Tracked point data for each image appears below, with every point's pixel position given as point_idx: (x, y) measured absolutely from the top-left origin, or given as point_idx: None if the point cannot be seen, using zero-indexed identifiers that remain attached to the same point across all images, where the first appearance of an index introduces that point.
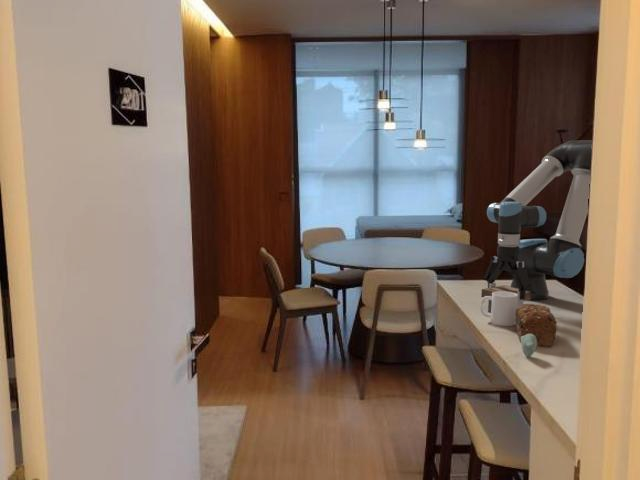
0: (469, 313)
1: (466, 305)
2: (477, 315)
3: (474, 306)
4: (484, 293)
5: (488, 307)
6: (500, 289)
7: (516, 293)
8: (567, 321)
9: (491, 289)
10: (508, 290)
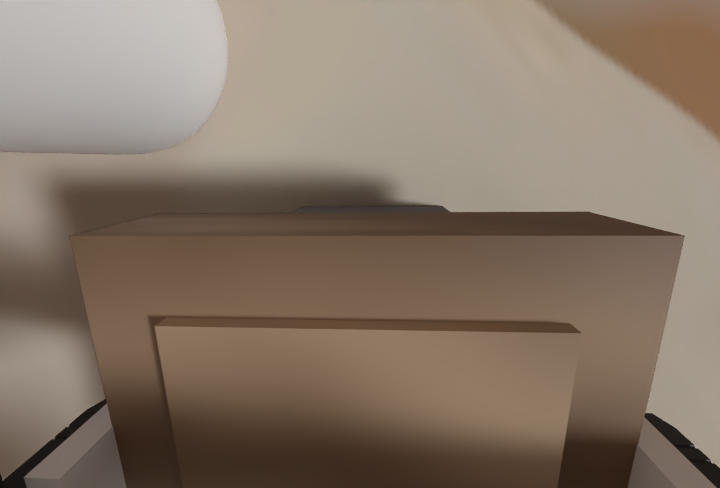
0: (514, 17)
1: (714, 217)
2: (422, 34)
3: None
4: (568, 222)
5: (447, 211)
6: (401, 424)
7: (150, 450)
8: (26, 458)
9: (515, 326)
10: (284, 465)
